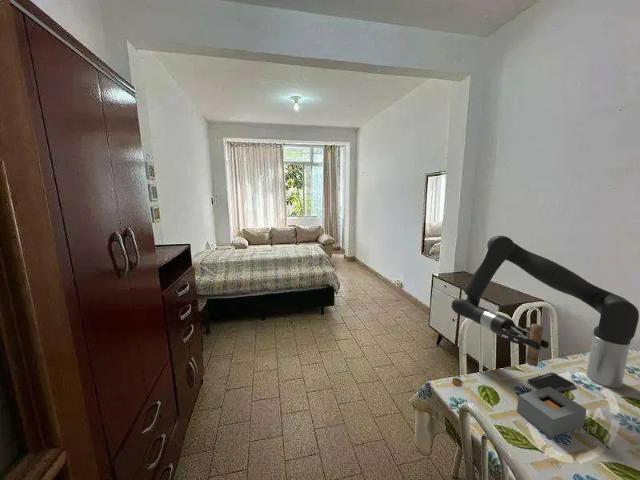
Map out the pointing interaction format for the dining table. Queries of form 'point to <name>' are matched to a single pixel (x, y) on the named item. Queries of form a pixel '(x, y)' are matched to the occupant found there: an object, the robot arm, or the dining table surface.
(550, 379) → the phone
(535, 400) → the box
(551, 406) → the button
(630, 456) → the dining table surface
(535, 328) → the brown wooden rod
